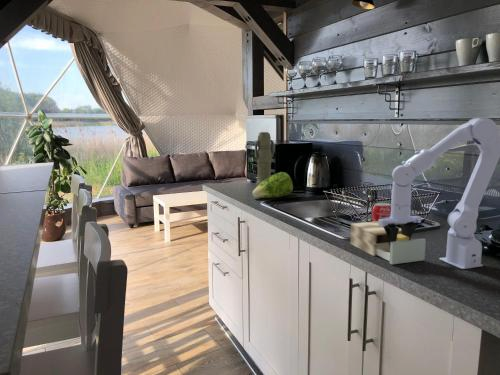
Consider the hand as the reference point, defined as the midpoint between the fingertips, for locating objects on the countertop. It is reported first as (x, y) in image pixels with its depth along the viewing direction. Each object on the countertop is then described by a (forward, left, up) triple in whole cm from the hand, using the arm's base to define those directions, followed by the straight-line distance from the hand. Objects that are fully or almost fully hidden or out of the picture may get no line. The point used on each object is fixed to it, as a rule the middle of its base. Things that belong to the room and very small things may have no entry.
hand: (398, 246), depth 137 cm
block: (0, 0, -2) cm, 2 cm away
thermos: (+128, -2, -4) cm, 128 cm away
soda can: (+25, -11, -4) cm, 27 cm away
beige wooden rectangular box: (+12, 0, -4) cm, 12 cm away
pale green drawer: (+2, 0, -4) cm, 4 cm away
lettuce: (+108, +1, -4) cm, 108 cm away
